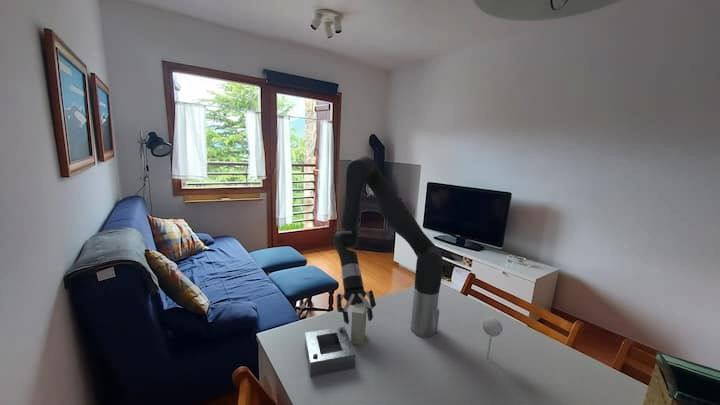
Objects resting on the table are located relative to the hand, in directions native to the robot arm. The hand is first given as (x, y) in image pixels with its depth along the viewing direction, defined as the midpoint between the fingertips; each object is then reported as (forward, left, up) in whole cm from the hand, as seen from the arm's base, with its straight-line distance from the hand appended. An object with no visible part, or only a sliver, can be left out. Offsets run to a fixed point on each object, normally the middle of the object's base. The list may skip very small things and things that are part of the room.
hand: (359, 322), depth 99 cm
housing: (+12, +6, -7) cm, 15 cm away
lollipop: (-40, +20, -7) cm, 45 cm away
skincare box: (0, 0, -7) cm, 7 cm away
